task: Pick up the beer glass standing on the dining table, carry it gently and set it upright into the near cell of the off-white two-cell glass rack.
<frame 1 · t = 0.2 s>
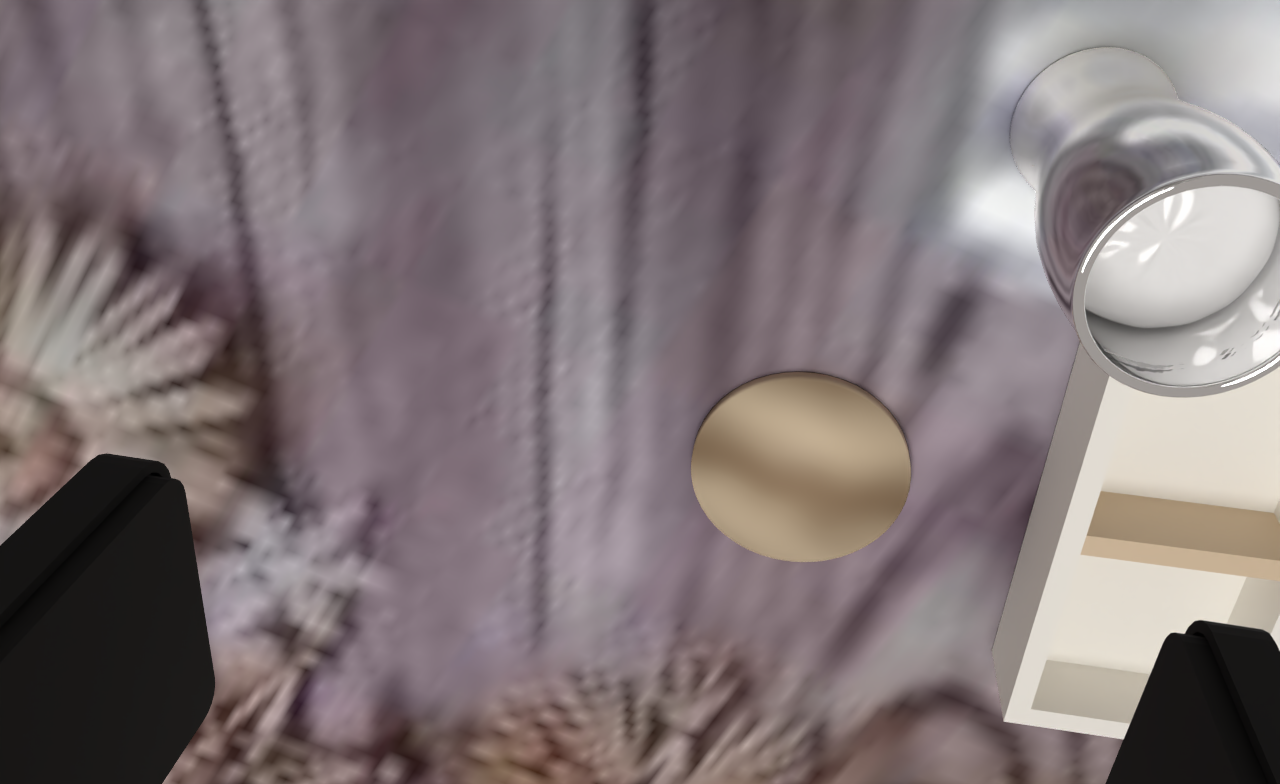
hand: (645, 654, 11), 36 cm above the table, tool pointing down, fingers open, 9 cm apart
rack: (1161, 493, 50), on the table
cork trivet: (799, 465, 52), on the table
beer glass: (1091, 125, 43), on the table
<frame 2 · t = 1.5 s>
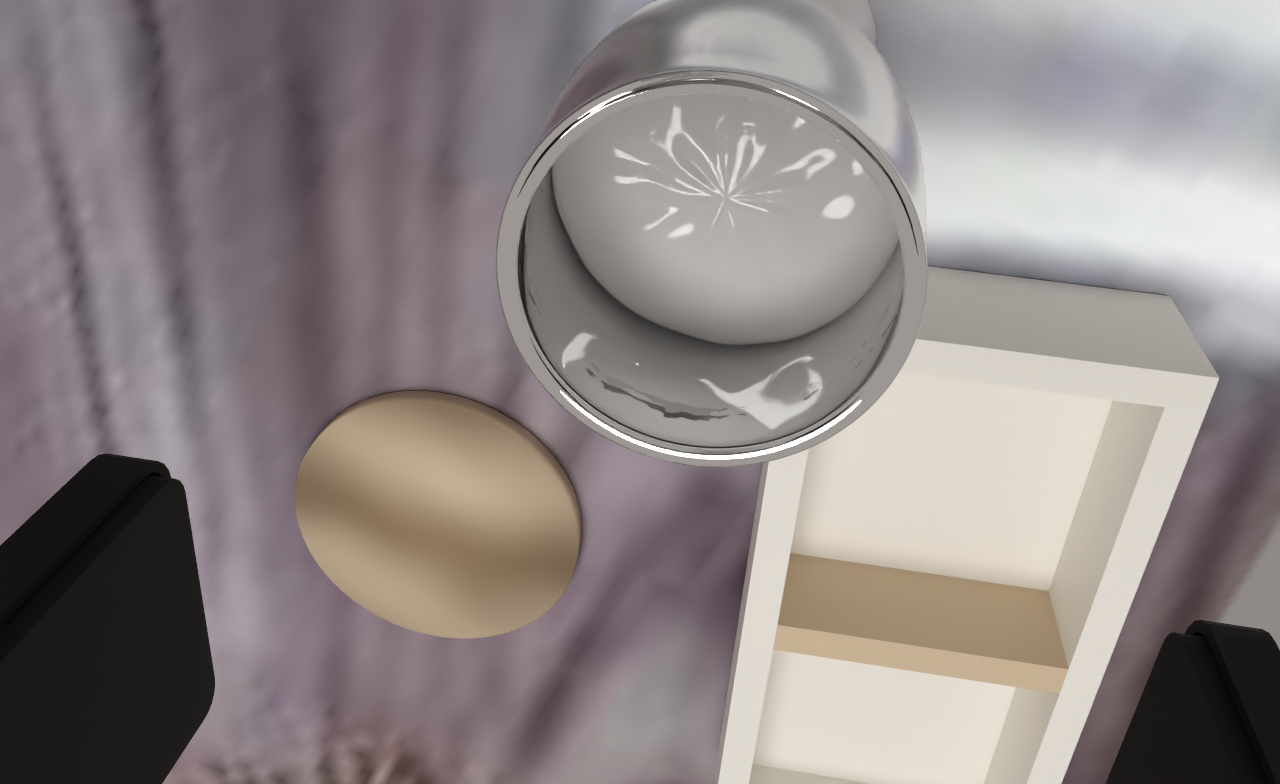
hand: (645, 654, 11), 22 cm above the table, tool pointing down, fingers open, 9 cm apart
rack: (908, 559, 37), on the table
cork trivet: (441, 514, 39), on the table
beer glass: (759, 48, 30), on the table
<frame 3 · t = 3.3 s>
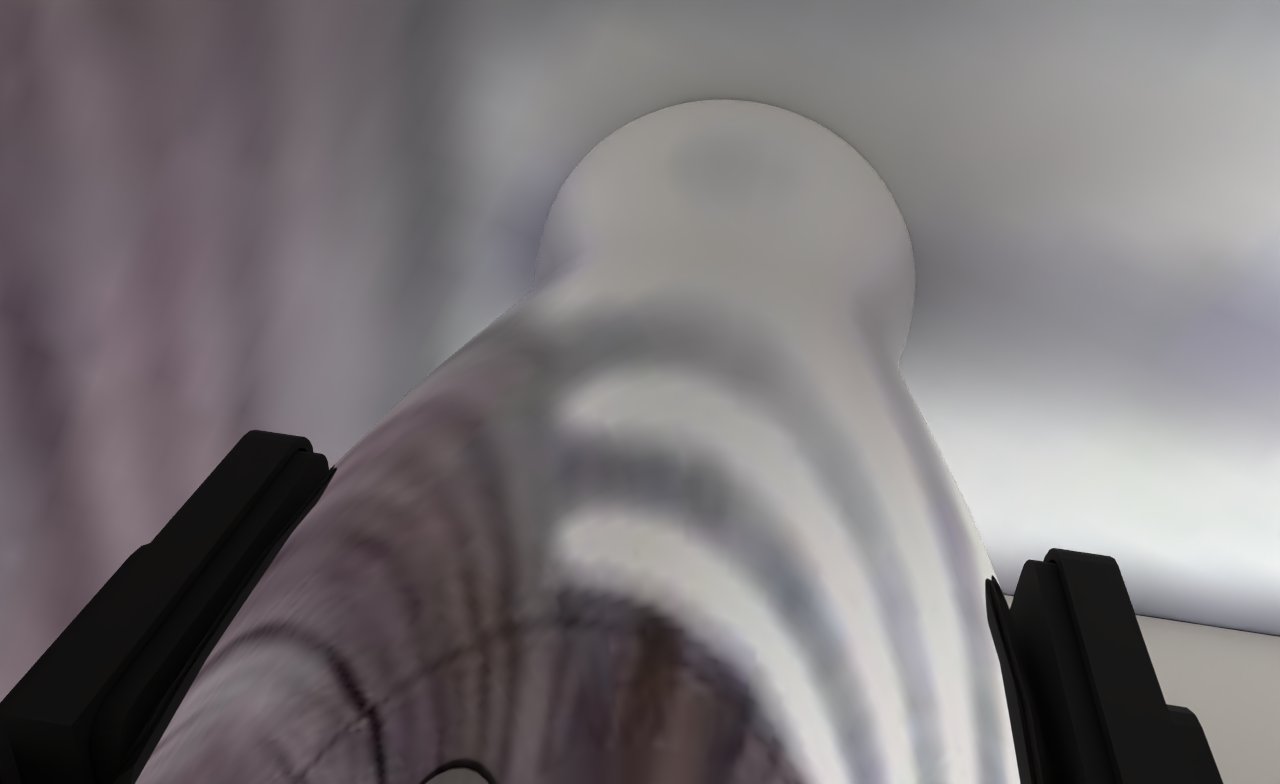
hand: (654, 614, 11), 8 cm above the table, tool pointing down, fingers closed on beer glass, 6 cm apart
beer glass: (724, 276, 19), on the table, touching gripper
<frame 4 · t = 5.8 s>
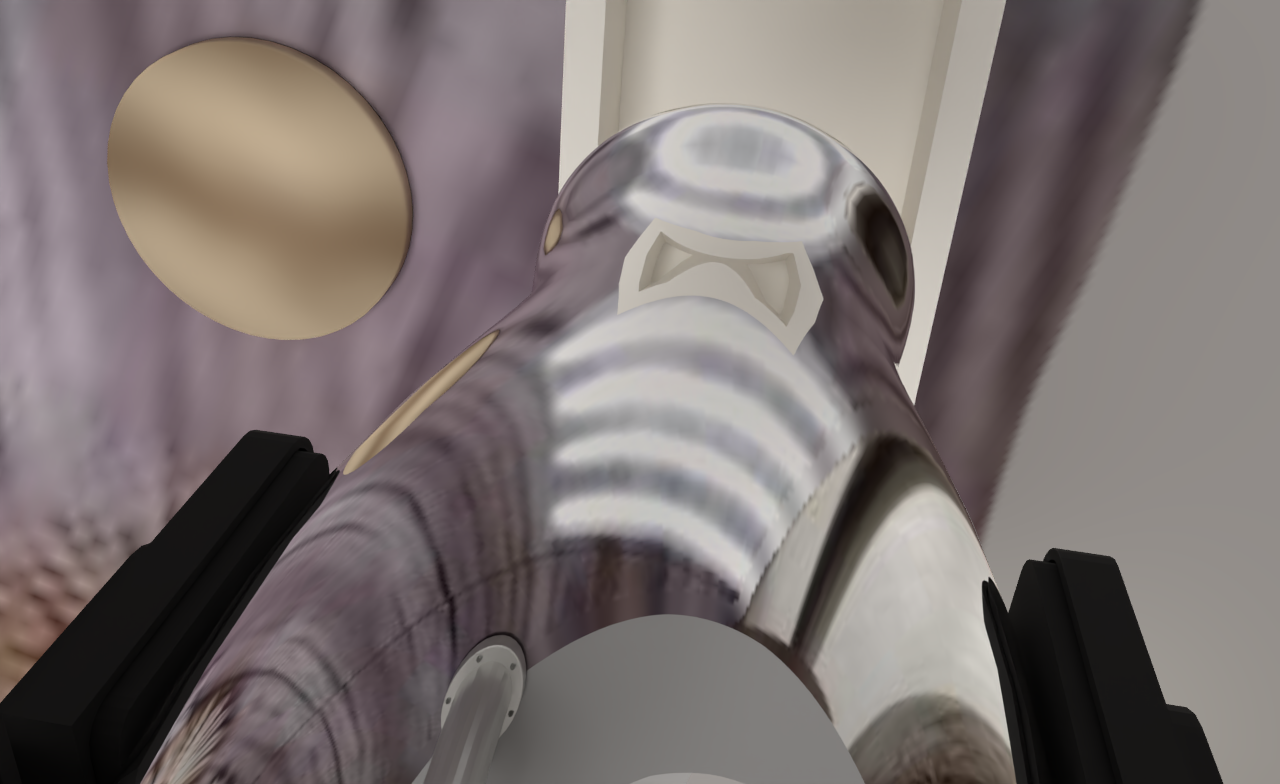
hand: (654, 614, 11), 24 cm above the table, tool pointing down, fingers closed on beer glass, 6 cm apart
rack: (753, 224, 35), on the table
cork trivet: (265, 192, 37), on the table
beer glass: (724, 279, 19), point 16 cm above the table, touching gripper
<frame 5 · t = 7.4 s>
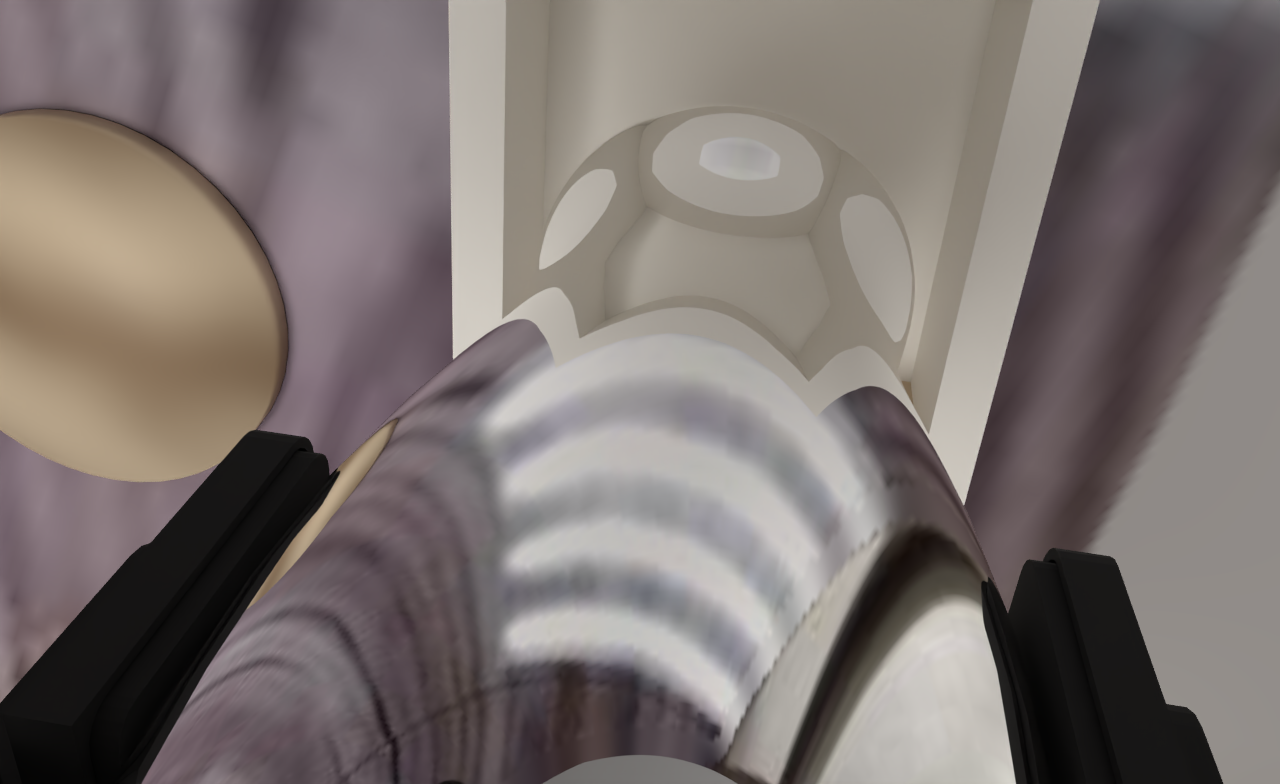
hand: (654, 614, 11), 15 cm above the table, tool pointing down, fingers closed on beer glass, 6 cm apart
rack: (724, 351, 27), on the table
cork trivet: (101, 302, 29), on the table
beer glass: (724, 280, 19), point 7 cm above the table, touching gripper
when the fingers open (11 cm above the table, at t = 8.8 s): beer glass drops 1 cm, resting on rack.
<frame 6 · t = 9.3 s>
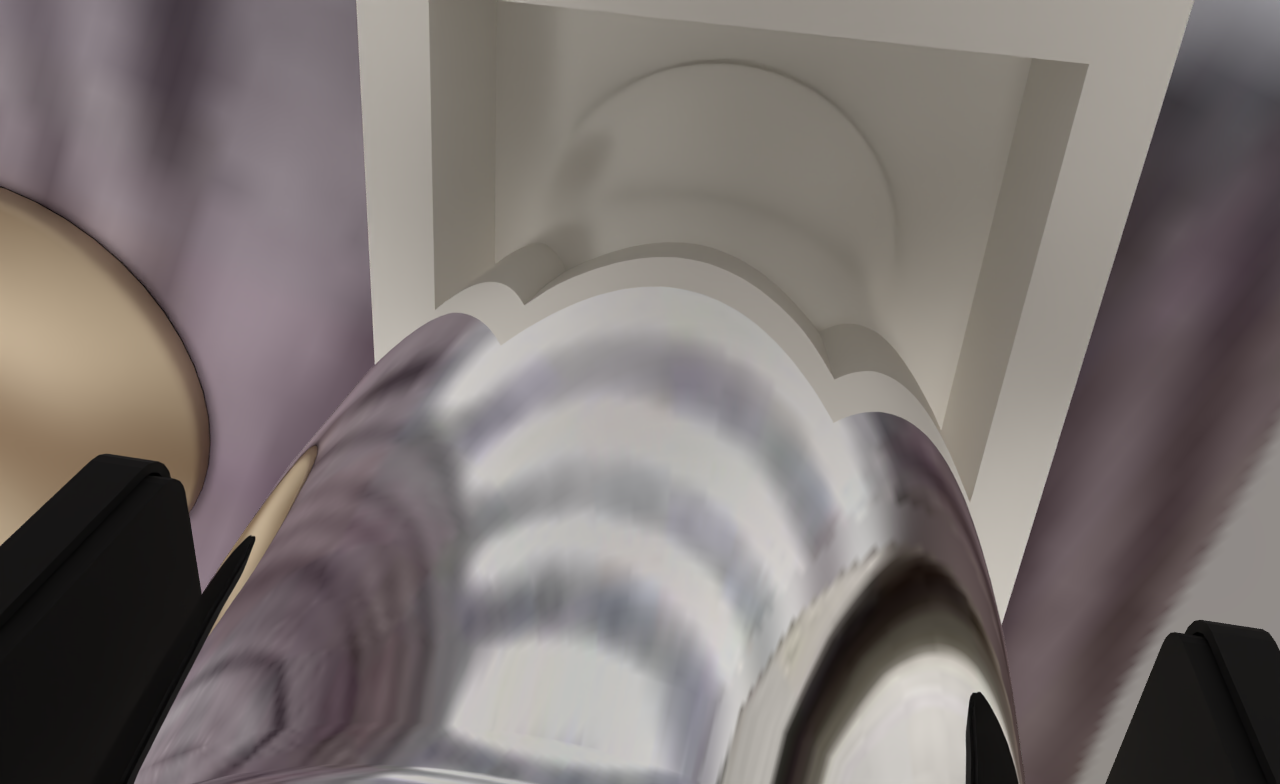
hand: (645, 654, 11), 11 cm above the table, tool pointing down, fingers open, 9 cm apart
rack: (708, 451, 23), on the table
beer glass: (717, 232, 20), point 1 cm above the table, touching rack
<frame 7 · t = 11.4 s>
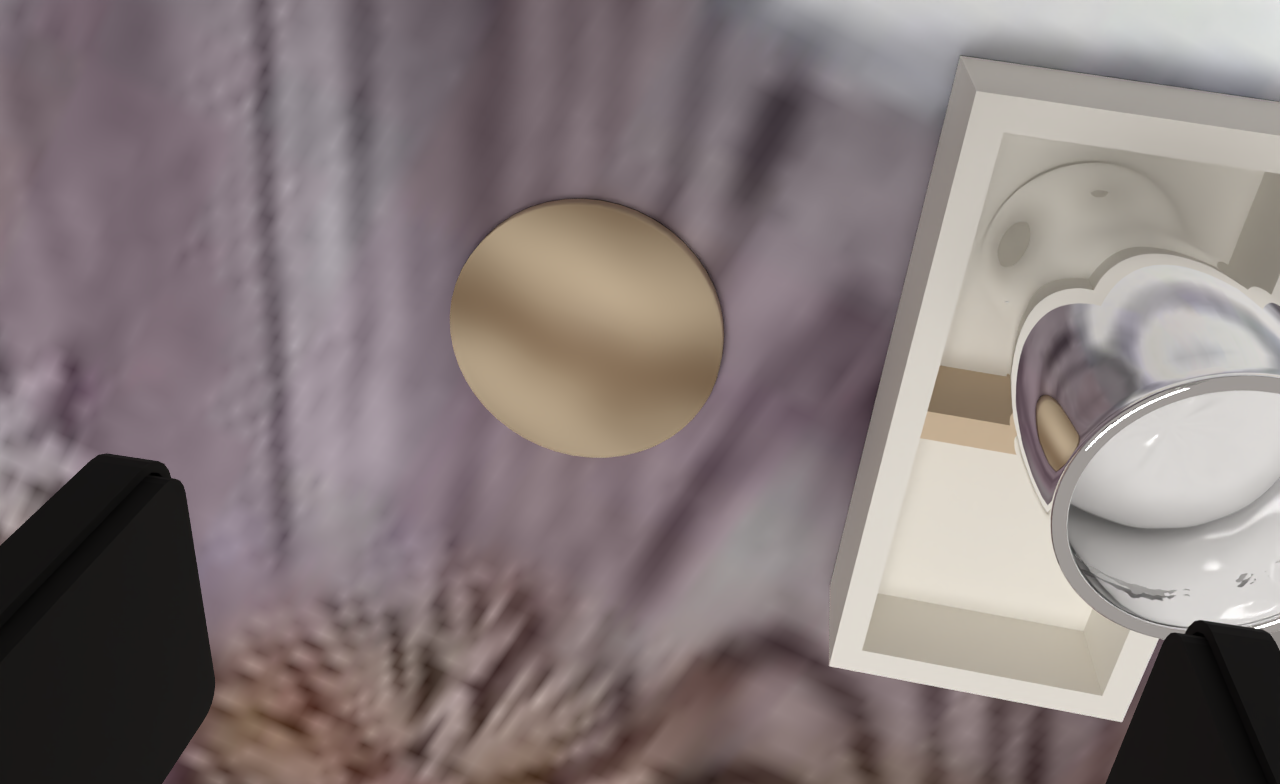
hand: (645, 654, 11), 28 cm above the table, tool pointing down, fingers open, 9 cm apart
rack: (1035, 379, 39), on the table
cork trivet: (588, 329, 41), on the table
beer glass: (1077, 251, 36), point 1 cm above the table, touching rack
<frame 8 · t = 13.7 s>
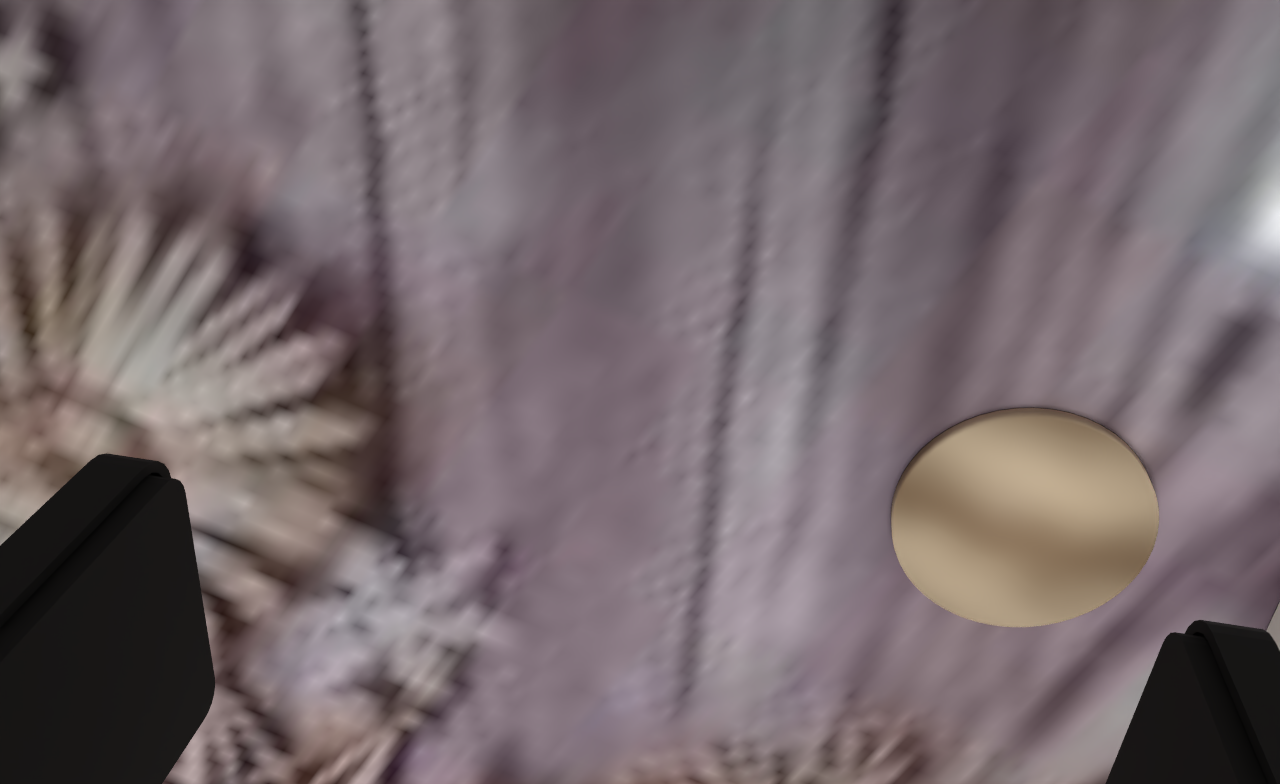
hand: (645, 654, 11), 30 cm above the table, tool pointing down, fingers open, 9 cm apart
cork trivet: (1019, 516, 45), on the table
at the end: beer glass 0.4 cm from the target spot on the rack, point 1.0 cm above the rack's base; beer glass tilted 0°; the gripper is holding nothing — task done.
